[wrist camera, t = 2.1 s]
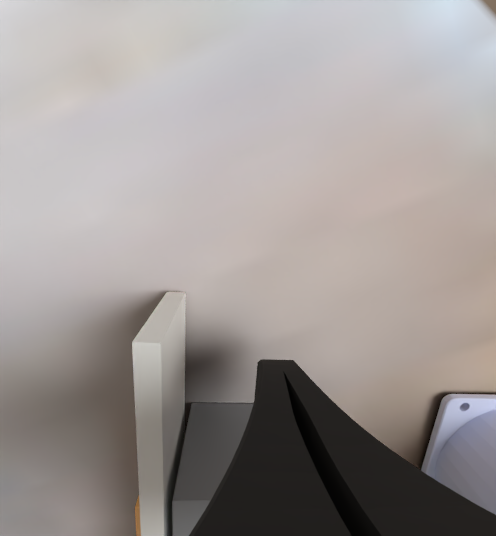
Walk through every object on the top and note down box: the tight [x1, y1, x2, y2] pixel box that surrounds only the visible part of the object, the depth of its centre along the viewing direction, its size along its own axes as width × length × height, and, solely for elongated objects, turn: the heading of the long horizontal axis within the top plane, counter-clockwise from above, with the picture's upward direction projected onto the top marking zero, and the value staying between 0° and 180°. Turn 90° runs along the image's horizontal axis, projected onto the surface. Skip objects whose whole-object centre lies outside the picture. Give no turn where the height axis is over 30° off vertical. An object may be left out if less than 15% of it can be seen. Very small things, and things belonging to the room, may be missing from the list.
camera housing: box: [172, 403, 253, 536], centre depth 13 cm, size 7×11×4 cm, turn 176°
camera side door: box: [132, 292, 186, 536], centre depth 12 cm, size 1×16×4 cm, turn 177°
